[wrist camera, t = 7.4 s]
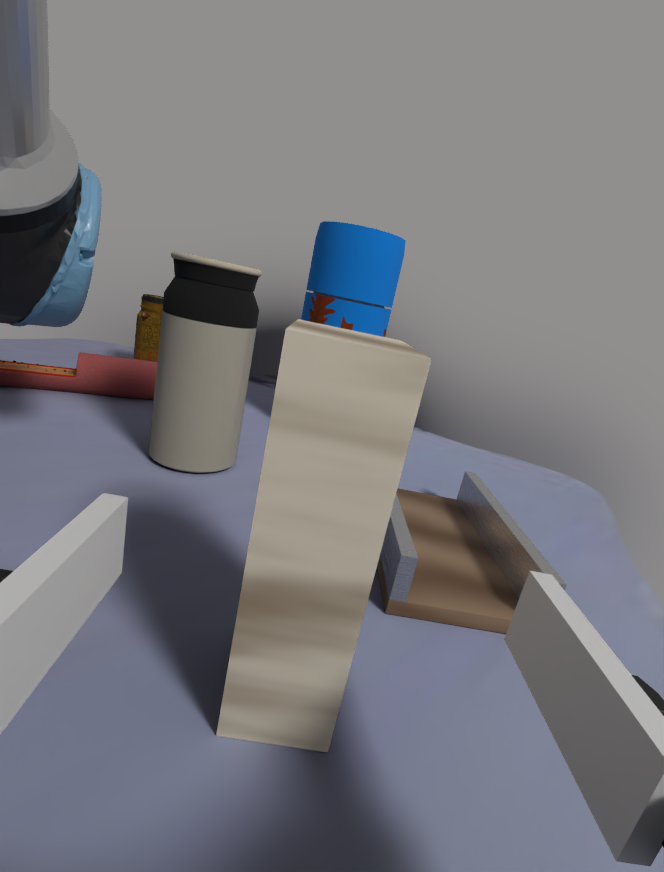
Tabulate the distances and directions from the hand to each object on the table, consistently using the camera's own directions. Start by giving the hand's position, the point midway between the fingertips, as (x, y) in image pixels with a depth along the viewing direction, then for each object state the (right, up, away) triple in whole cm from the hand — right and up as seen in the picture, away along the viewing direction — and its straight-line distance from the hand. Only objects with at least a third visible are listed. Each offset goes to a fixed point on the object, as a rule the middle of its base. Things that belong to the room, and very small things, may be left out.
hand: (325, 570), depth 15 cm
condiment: (-27, +13, +58) cm, 65 cm away
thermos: (-1, +5, +48) cm, 48 cm away
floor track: (+8, -5, +22) cm, 24 cm away
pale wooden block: (-2, -7, +6) cm, 10 cm away
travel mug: (-13, +2, +30) cm, 32 cm away
